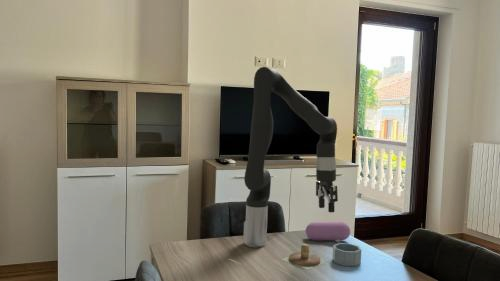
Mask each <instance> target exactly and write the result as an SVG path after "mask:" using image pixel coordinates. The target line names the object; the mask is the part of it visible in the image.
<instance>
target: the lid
mask: <svg viewBox="0 0 500 281" xmlns="http://www.w3.org/2000/svg"><path fill="white" fill-rule="evenodd" d="M288 257H289V261H290V262H291V263H293V264H292V265H294V264H296V265H300V266H315V265H318V264H320V259H321V257H320V256H318V255H317V254H314V253H310V244H307V243H302V244H301V245H300V252H294V253H291V254H289V256H288ZM291 263H290V264H291ZM296 265H295V266H296ZM318 266H319V265H318Z"/></svg>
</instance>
